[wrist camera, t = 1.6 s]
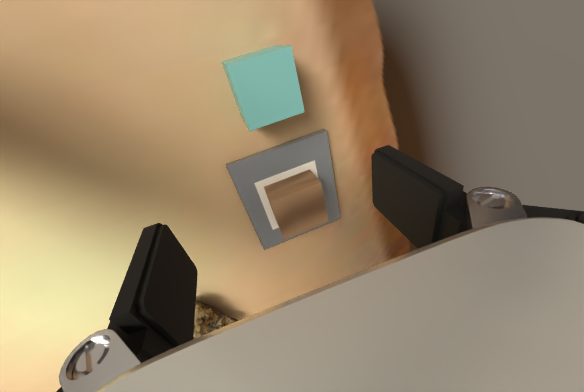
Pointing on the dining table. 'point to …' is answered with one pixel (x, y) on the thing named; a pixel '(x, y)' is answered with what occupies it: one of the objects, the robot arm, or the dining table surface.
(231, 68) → the teal block
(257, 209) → the grey square mat
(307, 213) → the walnut block
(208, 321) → the mineral specimen
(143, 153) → the dining table surface
